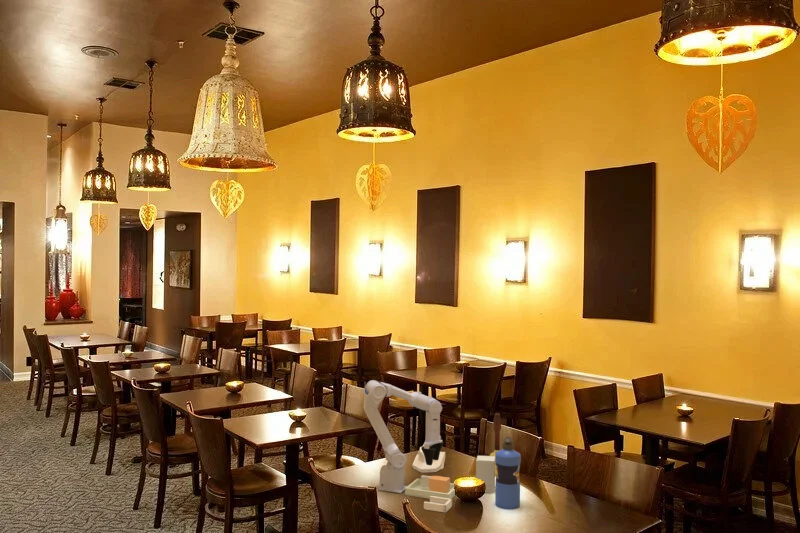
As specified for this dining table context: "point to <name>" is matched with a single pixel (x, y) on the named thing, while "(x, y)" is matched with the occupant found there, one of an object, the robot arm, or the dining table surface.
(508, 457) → the water bottle
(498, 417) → the handbell
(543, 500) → the dining table surface
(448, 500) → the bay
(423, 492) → the tray
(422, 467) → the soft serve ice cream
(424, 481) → the orange and grey block
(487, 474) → the supplement box
